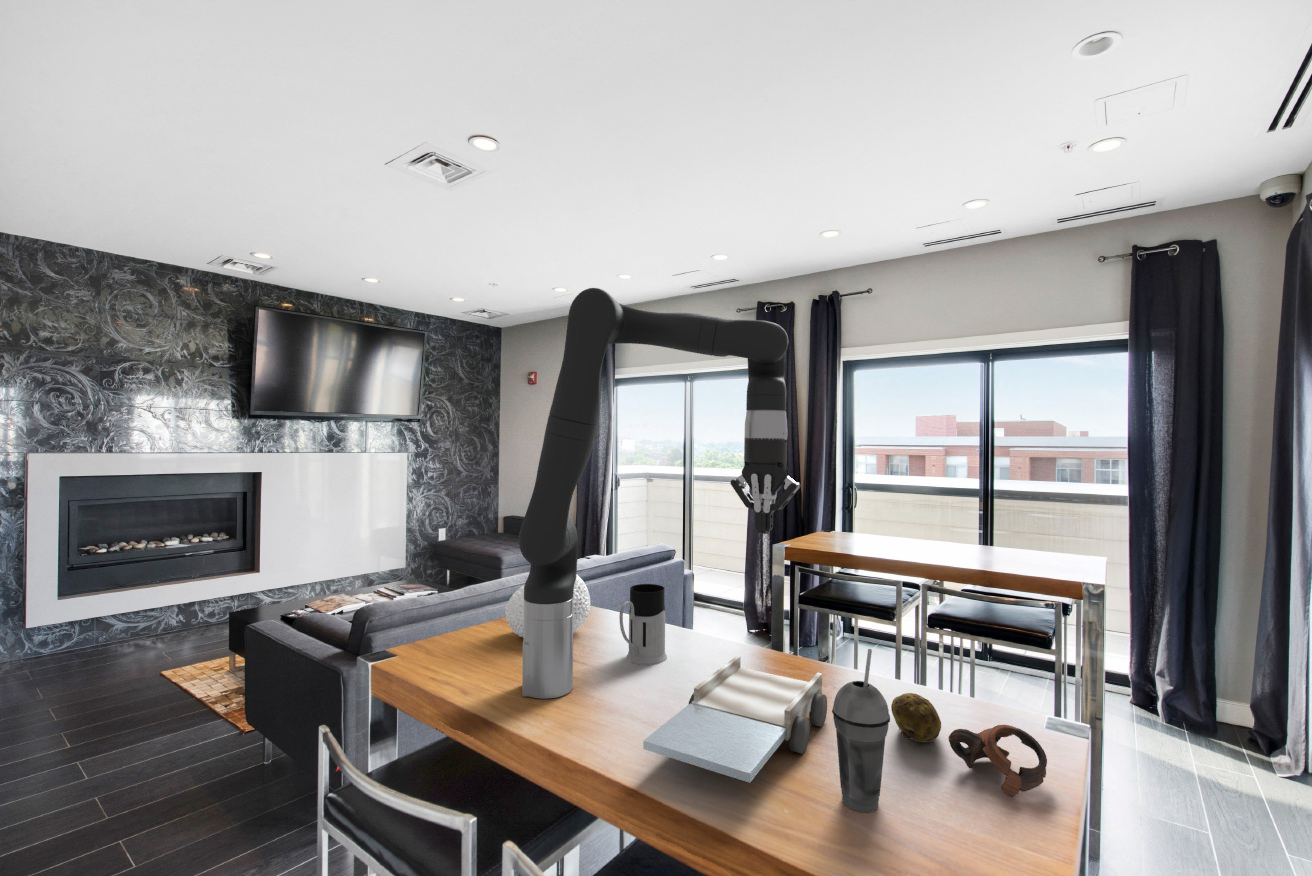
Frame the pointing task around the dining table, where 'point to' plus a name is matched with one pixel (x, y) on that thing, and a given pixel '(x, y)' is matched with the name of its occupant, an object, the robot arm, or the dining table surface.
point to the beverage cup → (860, 741)
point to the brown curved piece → (1000, 755)
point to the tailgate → (717, 741)
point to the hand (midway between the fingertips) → (764, 533)
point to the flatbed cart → (765, 699)
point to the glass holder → (645, 624)
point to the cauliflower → (579, 607)
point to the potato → (916, 717)
